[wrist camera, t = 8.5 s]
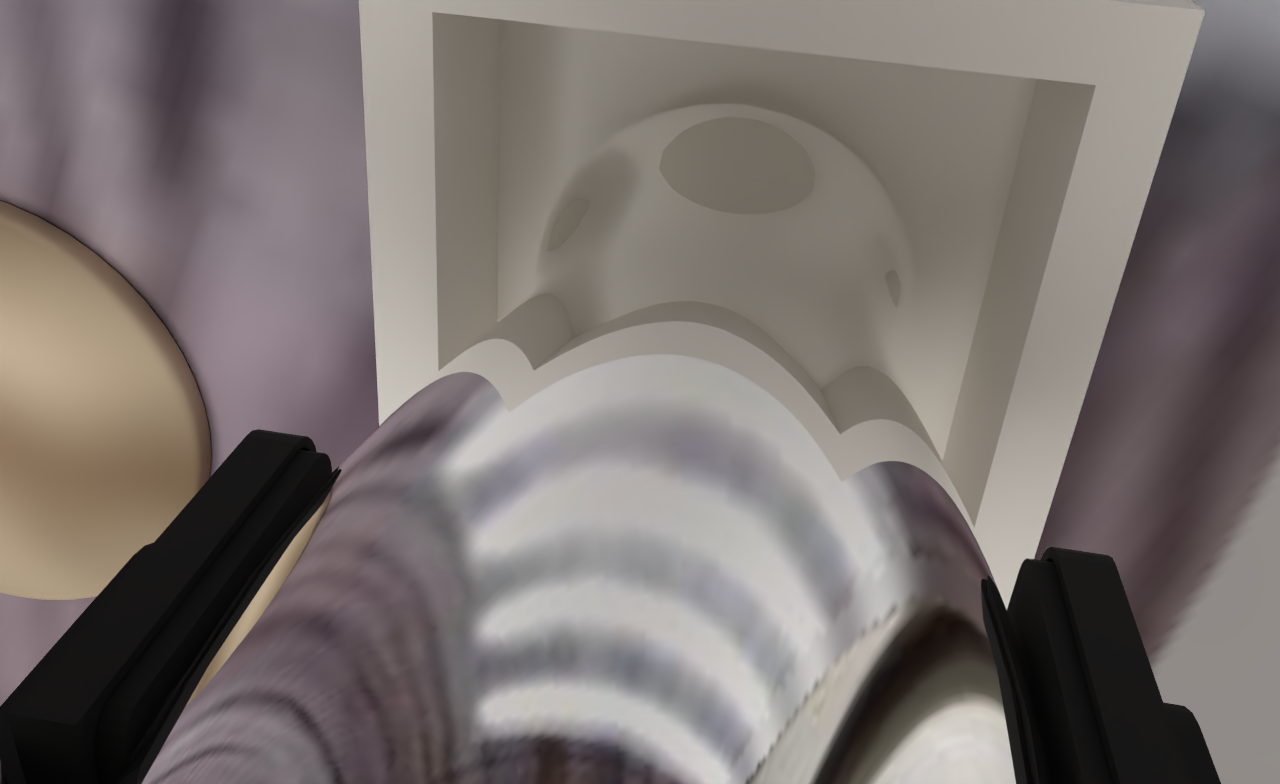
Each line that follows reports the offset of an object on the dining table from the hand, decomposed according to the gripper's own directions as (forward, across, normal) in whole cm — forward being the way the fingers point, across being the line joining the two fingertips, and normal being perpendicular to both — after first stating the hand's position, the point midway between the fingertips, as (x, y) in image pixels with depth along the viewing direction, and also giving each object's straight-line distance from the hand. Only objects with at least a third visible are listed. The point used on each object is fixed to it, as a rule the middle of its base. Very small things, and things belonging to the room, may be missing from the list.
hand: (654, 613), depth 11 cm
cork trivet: (+11, +16, +6) cm, 20 cm away
